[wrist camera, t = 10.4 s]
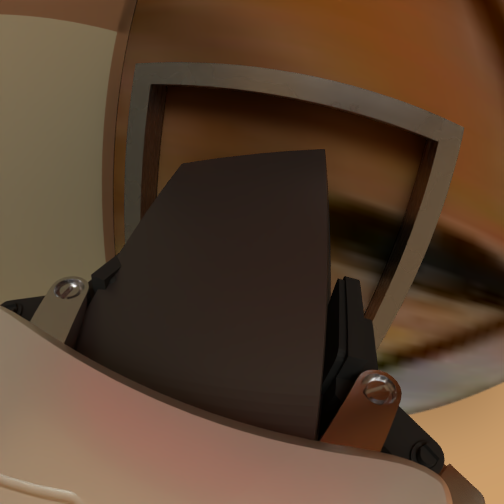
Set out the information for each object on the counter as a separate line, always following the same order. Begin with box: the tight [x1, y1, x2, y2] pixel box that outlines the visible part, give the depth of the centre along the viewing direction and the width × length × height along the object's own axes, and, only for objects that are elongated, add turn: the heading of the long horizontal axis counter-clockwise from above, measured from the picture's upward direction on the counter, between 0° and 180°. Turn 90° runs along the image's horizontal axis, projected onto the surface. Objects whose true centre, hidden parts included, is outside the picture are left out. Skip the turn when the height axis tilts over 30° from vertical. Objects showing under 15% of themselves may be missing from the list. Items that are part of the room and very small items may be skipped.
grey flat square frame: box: [124, 62, 464, 350], centre depth 14 cm, size 14×16×2 cm
